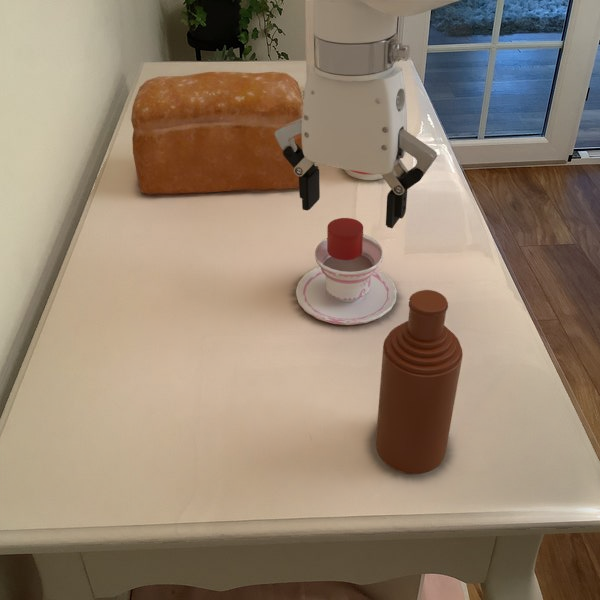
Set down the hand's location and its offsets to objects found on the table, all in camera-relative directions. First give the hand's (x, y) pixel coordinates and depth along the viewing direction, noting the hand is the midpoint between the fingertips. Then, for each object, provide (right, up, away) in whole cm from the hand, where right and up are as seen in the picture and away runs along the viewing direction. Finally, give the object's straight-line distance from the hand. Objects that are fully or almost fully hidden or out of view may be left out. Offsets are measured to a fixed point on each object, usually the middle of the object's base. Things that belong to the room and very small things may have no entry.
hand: (351, 213), depth 73 cm
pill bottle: (+5, +11, +32) cm, 35 cm away
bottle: (+5, -23, -11) cm, 26 cm away
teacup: (0, -9, +7) cm, 12 cm away
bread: (-17, +10, +32) cm, 38 cm away
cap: (0, -4, +4) cm, 5 cm away
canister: (+2, +27, +54) cm, 60 cm away
